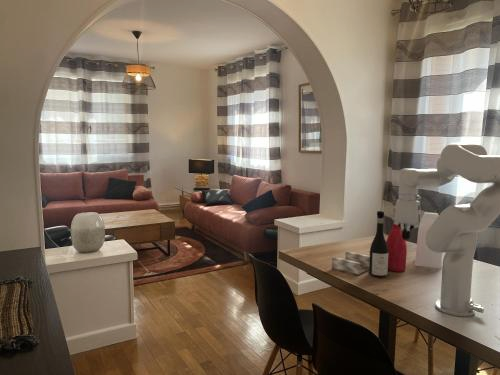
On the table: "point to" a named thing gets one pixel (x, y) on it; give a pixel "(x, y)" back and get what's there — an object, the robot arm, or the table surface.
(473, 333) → the table surface
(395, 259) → the wine bottle
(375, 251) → the wine bottle
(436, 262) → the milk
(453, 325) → the table surface
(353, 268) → the cradle
